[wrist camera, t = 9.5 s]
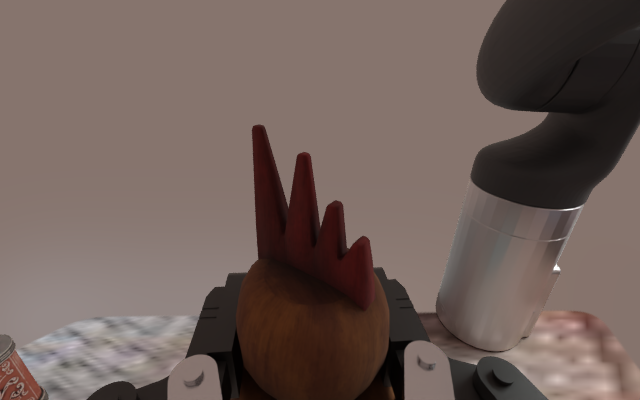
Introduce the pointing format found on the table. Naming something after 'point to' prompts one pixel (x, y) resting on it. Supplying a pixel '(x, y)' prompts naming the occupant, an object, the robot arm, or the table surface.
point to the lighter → (16, 375)
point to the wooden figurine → (308, 297)
